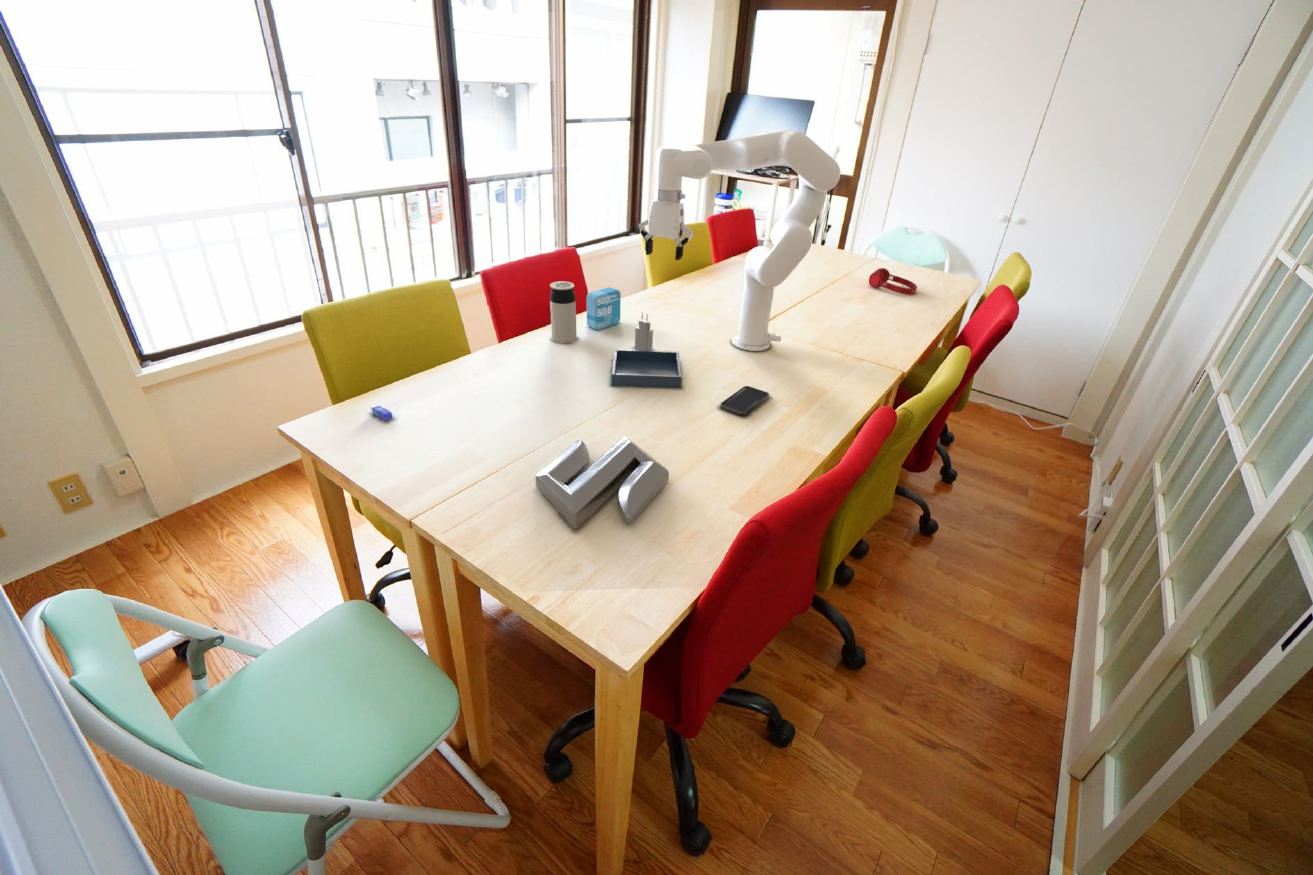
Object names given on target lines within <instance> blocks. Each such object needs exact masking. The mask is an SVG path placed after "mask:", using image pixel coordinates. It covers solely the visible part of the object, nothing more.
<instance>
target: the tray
mask: <svg viewBox="0 0 1313 875" xmlns="http://www.w3.org/2000/svg"><path fill="white" fill-rule="evenodd" d="M612 361H613V362H612V367H611V368H612V369H611V380H610V382H611V385H610V386H611V387H629V388H631V387H632V388H654V389H655V388H658V389H682V382H683V381H682V380H683V379H682V378H683V375H682V367H681V358H680V352H679V351H668V350H667V351H665V350H652V351H644V350H636V349H617V348H615V349H614V352H613V359H612Z"/></svg>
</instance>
